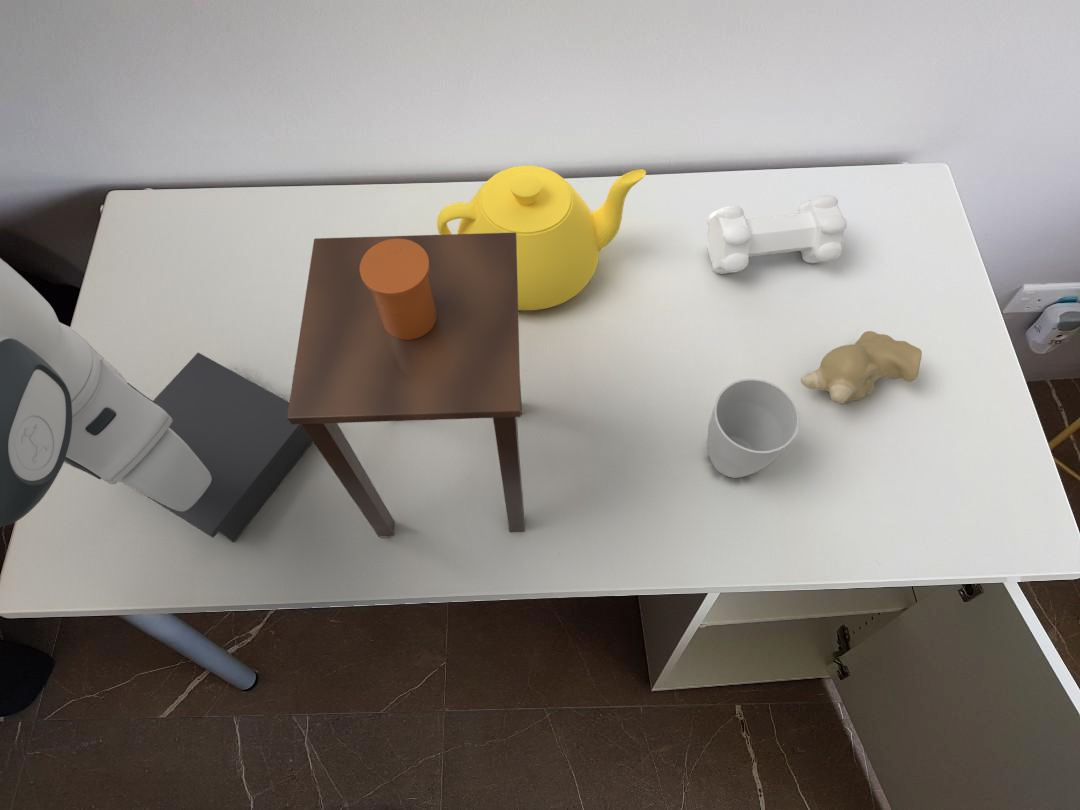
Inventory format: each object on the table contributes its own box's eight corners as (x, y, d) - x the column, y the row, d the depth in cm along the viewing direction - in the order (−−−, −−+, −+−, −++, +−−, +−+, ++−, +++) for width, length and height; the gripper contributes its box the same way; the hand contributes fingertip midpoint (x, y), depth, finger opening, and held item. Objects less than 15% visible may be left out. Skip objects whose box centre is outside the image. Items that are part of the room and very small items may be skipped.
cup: (775, 491, 75) (805, 453, 66) (698, 490, 75) (719, 452, 66) (764, 423, 79) (792, 378, 70) (692, 422, 79) (710, 378, 70)
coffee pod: (417, 353, 51) (403, 303, 45) (365, 327, 52) (345, 275, 46) (452, 307, 52) (442, 254, 47) (401, 283, 53) (386, 229, 48)
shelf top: (291, 424, 49) (286, 418, 48) (317, 246, 56) (313, 238, 56) (520, 417, 49) (520, 410, 48) (516, 240, 57) (516, 231, 56)
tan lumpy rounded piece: (936, 356, 76) (861, 380, 71) (906, 407, 80) (834, 433, 75) (876, 317, 81) (802, 336, 76) (851, 366, 86) (780, 387, 80)
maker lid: (213, 538, 69) (191, 522, 65) (98, 466, 73) (71, 447, 69) (311, 416, 75) (297, 394, 71) (200, 355, 79) (181, 332, 75)
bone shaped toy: (810, 224, 92) (833, 178, 85) (832, 276, 88) (857, 232, 81) (699, 237, 92) (712, 191, 84) (716, 290, 88) (731, 247, 80)
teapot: (620, 201, 95) (631, 116, 83) (647, 307, 86) (663, 231, 74) (434, 220, 93) (418, 137, 81) (443, 330, 85) (427, 256, 73)
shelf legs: (378, 536, 73) (297, 419, 49) (388, 407, 80) (321, 250, 56) (524, 531, 73) (515, 412, 49) (521, 403, 80) (511, 244, 56)
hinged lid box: (234, 542, 73) (219, 531, 69) (123, 474, 77) (104, 460, 73) (321, 431, 79) (311, 416, 75) (215, 373, 82) (201, 356, 79)
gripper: (-74, 370, 55) (38, 447, 67) (120, 489, 50) (202, 549, 62) (-8, 312, 57) (88, 396, 69) (182, 420, 52) (249, 490, 65)
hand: (143, 469), depth 66 cm, fingers open, 8 cm apart
